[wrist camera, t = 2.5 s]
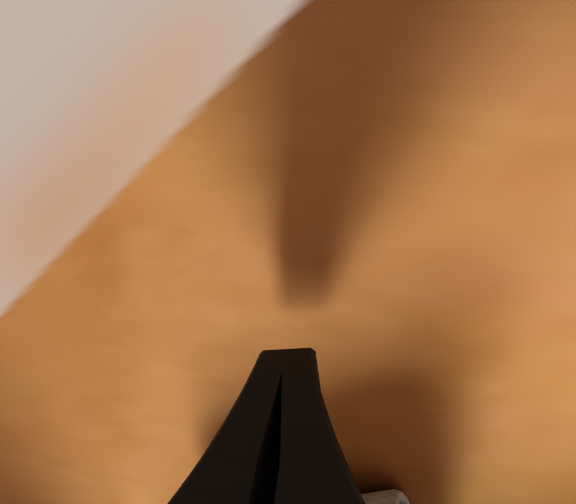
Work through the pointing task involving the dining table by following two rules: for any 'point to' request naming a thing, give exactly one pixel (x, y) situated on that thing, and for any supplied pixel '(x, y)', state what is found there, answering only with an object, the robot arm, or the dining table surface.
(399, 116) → the dining table surface
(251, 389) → the robot arm
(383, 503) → the ceramic mug
